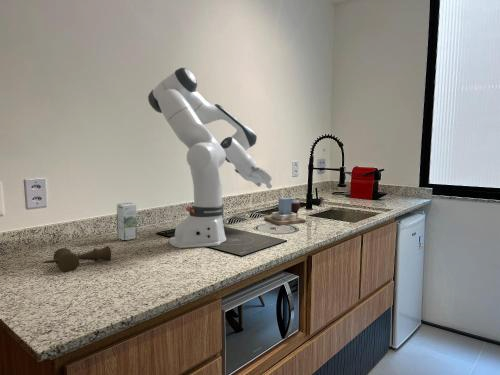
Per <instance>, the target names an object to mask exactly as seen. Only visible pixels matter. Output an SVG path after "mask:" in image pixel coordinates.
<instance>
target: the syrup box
mask: <svg viewBox="0 0 500 375" xmlns="http://www.w3.org/2000/svg"><path fill="white" fill-rule="evenodd" d="M116 224H117V226H116V227H117V230H116V231H117V239H118V238H119V239H118V240H120V239H121V240H120V241H122V240H128V241H131V240H130V239H133V240H136V239H135V238H137V239H138V232H137V230H138V228H137V204H135V203H133V202H124V203H117V204H116Z"/></svg>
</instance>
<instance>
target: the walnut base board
mask: <svg viewBox="0 0 500 375" xmlns="http://www.w3.org/2000/svg"><path fill="white" fill-rule="evenodd" d="M263 217H264V218H263V220H264V221H266V222H269V223H271V224H274V225H277V226H287V225H296V224H305V223H306V222H307V219H305V218H301V217H299V213H298V214H296V213H292V212H291V214H290V215H280V214H279V211H276V212H275V211H273V212H271V216H263Z"/></svg>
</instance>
